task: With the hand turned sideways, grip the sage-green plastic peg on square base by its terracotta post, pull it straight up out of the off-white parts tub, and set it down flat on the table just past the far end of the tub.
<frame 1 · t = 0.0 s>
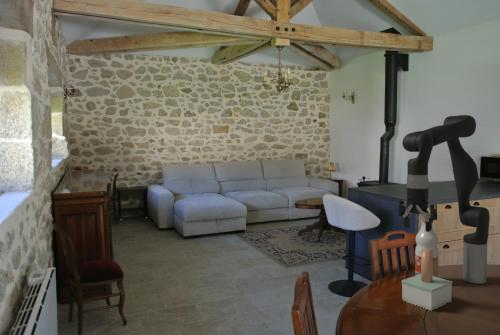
hand: (417, 229, 145), 29 cm above the table, fingers open, 8 cm apart
parts tub: (426, 301, 150), on the table
fruit juice: (426, 282, 172), on the table
peg on square base: (426, 287, 150), point 5 cm above the table, touching parts tub
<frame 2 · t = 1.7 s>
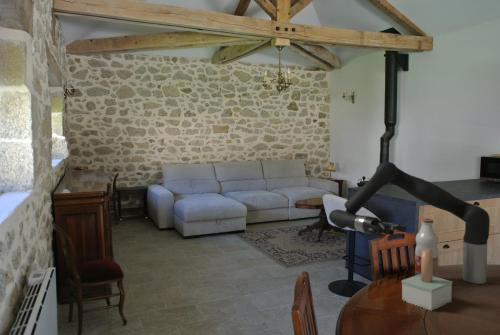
hand: (399, 231, 159), 26 cm above the table, fingers open, 8 cm apart
nothing on the table moved.
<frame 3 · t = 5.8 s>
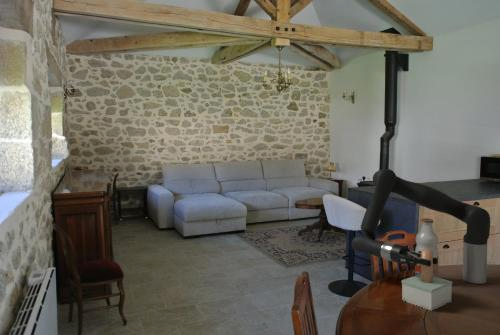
hand: (433, 262, 147), 16 cm above the table, fingers closed on peg on square base, 4 cm apart
peg on square base: (426, 287, 150), point 5 cm above the table, touching gripper, parts tub
everything else where it was.
when the fingers open (14 cm above the table, at t = 11.8 s): peg on square base drops 4 cm, on the table.
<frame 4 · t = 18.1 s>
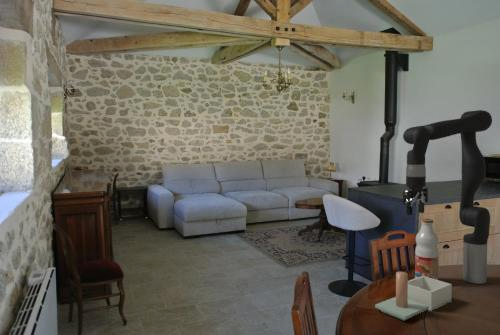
hand: (415, 213, 161), 32 cm above the table, fingers open, 8 cm apart
peg on square base: (401, 312, 141), on the table
everything else where it was.
at the end: peg on square base touching table; peg on square base inside the target area (0.1 cm from its centre), on the table; peg on square base tilted 0° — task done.
